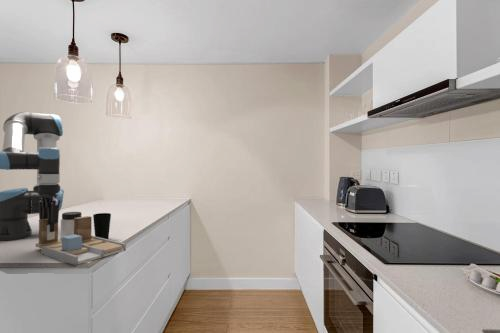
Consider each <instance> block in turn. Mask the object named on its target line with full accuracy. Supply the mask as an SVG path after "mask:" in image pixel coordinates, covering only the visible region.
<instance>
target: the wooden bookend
mask: <svg viewBox="0 0 500 333" xmlns="http://www.w3.org/2000/svg"><path fill="white" fill-rule="evenodd" d="M92 217H93V216H89V215H85V216H81V217H78V218H74V234H76V235H80V236H82V244H85V245H89V246H93V245H97V244H102V243H104V241H102V240H98V239H93V238H91V236H92V224H93V223H92V220H93V219H92Z"/></svg>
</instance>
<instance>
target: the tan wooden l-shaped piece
mask: <svg viewBox="0 0 500 333" xmlns="http://www.w3.org/2000/svg"><path fill="white" fill-rule="evenodd" d="M47 223H48V218H47V219H40V220H38V242H37V243H35V247H36V248H39V249H41V246H46V247H50V248H53V249H56V250H60V251H63V252H66V253H69V254H73V255H75V254H79V253H83V252H86V251H88V248H85V247H82V249H78V250H74V251H70V252H68V251H65V250H62V240H59V222H58V223H56V224H55V239H52V240H47Z"/></svg>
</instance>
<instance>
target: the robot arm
mask: <svg viewBox="0 0 500 333" xmlns="http://www.w3.org/2000/svg"><path fill="white" fill-rule="evenodd" d="M2 126H3V127H2V130H3V132H4V136H3V144H2V151H0V170H6V171H8V170H36V184H35V185H34V186H33V188H32V190H29V189H28V187H21V188H11V189H7V190H1V191H0V241H3V242H4V241H5V242H6V241H15V240H20V239H25V238H29V237H31V236H32V235H33V232H32V231H33V230H32V228H31V225H30V222H29V219H28V218H29V217H28V215H35V214H38V217H39V220H40V219H47V218H48V223H47V240H52V239H55V224H56V223H58V224H59V218H60V217H59V215H60V211H61V210H62V206H63V199H64V192H65V191H64V189H61V185H60V184H59V183H60V177H61V176H60V164H61V160H60V159H61V153H60V152H61V151H60V149H59V148H58V147H57V141H59V140H60V137H62V136H63V133H64V132H63V131H64V130H63V123H62V119H61V117H60V116H59V115H58V114H51V113H42V112H41V113H39V112H30V111H23V112H22V111H21V112H18V113H15V114H12V115H11V116H9V117H8V118H6V120H5V121H4V123H3V125H2ZM25 135H31V136H32V135H33V139H35V141H36V152H30V151H29V152H27V151H26V152H25ZM39 220H38V221H39Z"/></svg>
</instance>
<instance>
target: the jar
mask: <svg viewBox="0 0 500 333" xmlns="http://www.w3.org/2000/svg"><path fill="white" fill-rule="evenodd" d="M78 217H82V212H81V211H68V212H67V211H66V212H63V213H62V214H61V219H60V239H61V240H62V237H64V236H69V235H74V218H78Z"/></svg>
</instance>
